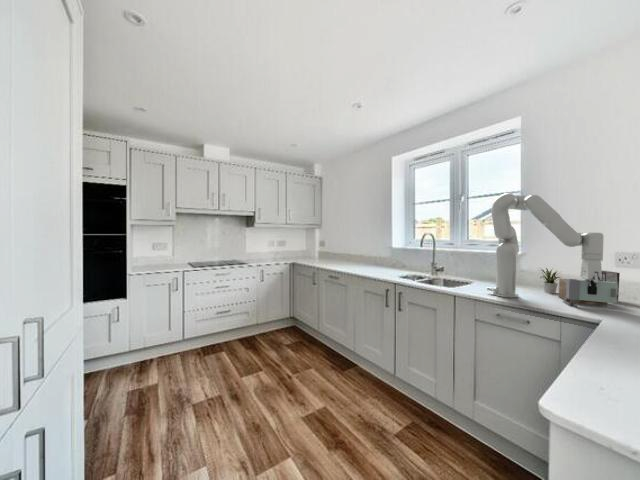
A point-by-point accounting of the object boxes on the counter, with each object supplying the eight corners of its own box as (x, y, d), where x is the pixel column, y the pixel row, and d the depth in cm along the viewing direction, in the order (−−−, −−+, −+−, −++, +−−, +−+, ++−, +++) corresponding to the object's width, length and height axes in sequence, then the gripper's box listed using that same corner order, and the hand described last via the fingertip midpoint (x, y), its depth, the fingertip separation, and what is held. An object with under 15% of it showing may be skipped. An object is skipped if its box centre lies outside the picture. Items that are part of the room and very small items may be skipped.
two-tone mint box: (568, 299, 136) (569, 279, 136) (565, 297, 140) (566, 278, 140) (617, 303, 128) (618, 283, 128) (613, 301, 132) (614, 281, 132)
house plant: (527, 290, 173) (528, 265, 173) (542, 288, 178) (543, 264, 177) (552, 295, 160) (553, 268, 159) (567, 293, 164) (568, 267, 163)
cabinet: (569, 306, 136) (570, 284, 136) (555, 296, 156) (555, 278, 156) (617, 311, 128) (618, 288, 128) (596, 300, 148) (596, 280, 148)
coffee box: (619, 302, 144) (620, 272, 144) (604, 301, 146) (606, 272, 145) (604, 298, 153) (606, 270, 153) (591, 297, 154) (592, 270, 154)
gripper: (575, 255, 142) (574, 290, 143) (588, 258, 128) (587, 296, 129) (594, 256, 139) (593, 291, 139) (610, 258, 125) (609, 298, 125)
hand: (590, 293), depth 134 cm, fingers closed on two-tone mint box, 2 cm apart
